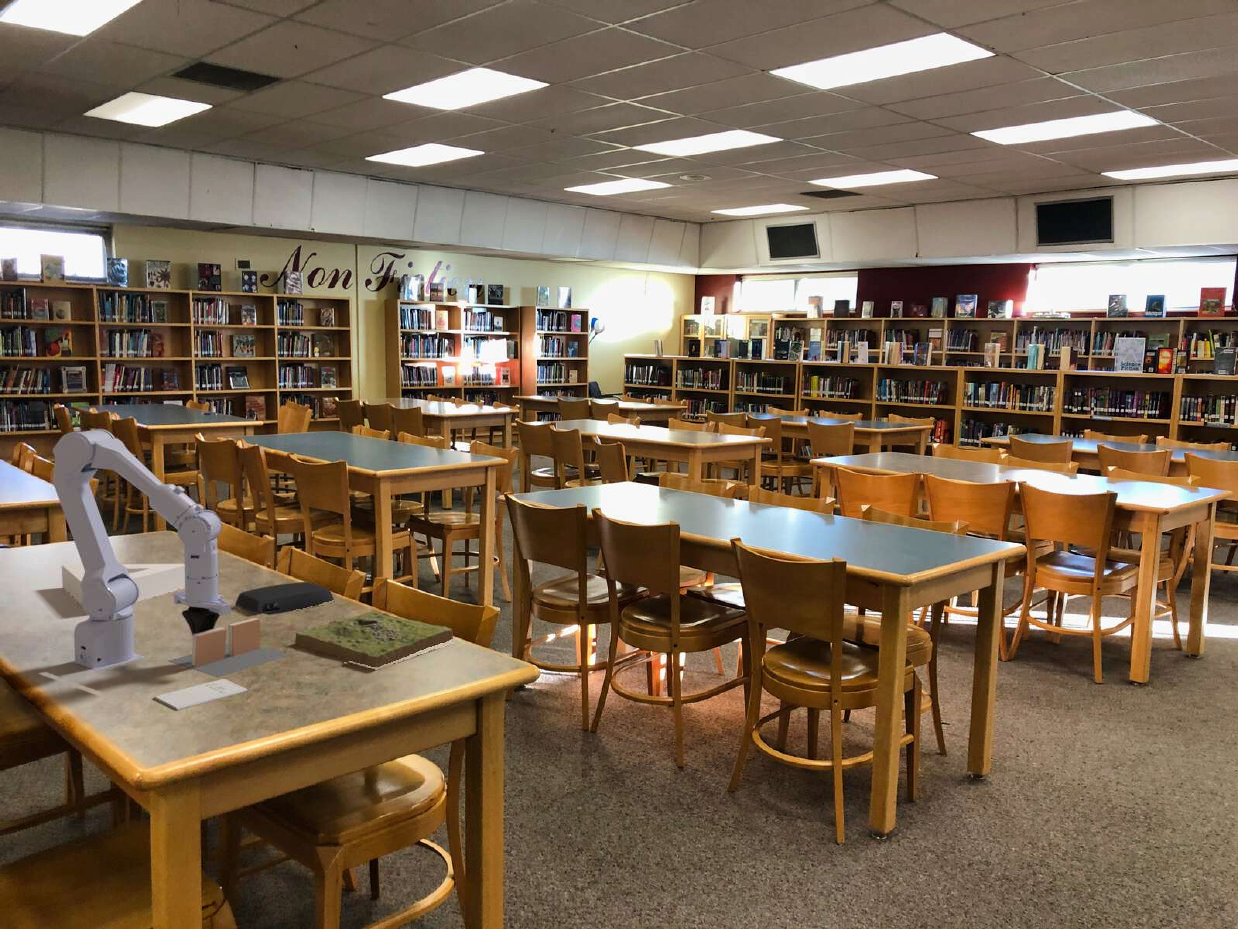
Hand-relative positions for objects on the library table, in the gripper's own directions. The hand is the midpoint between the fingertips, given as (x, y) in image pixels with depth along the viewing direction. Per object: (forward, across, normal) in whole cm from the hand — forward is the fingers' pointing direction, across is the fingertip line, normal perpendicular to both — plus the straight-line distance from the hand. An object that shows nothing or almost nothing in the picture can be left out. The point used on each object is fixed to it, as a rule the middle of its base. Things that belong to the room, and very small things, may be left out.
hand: (202, 645), depth 175 cm
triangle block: (+4, +58, -23) cm, 63 cm away
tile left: (+3, -2, 0) cm, 3 cm away
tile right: (+3, -2, -8) cm, 9 cm away
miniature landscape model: (+4, -18, -27) cm, 33 cm away
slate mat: (+3, -3, -4) cm, 6 cm away
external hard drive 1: (+4, -16, +11) cm, 20 cm away
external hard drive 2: (+4, +22, -38) cm, 44 cm away
